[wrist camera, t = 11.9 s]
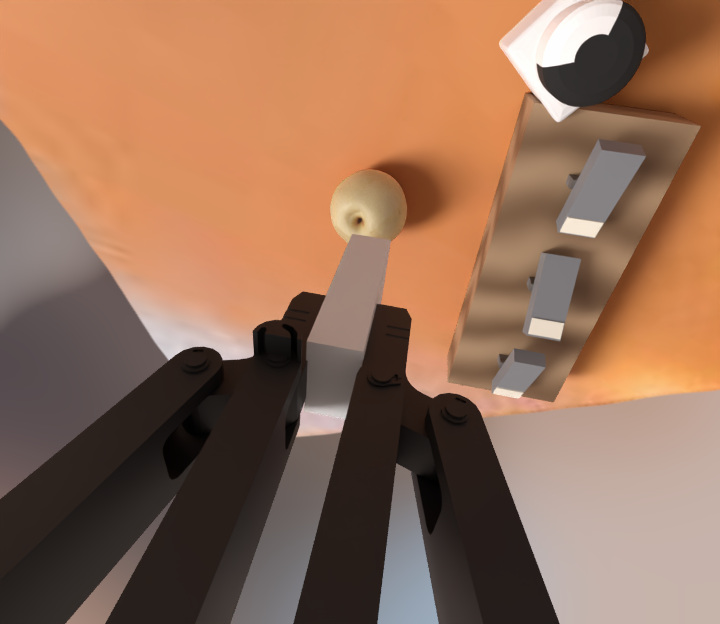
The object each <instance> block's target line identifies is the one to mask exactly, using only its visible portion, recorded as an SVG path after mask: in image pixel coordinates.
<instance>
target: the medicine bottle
mask: <svg viewBox="0 0 720 624" xmlns="http://www.w3.org/2000/svg"><path fill="white" fill-rule="evenodd" d="M499 46H500V47H501V49H502V50H503V52H504V53H505V55H506V56H507V57H508V59H509V60H510V62H511V63H512V65H513V66H514V67H515V69H516V70H517V72H518V73H519V74H520V76H521V77H522V79H523V80H524V82H525V83H526V84H527V86H528V87H529V89H530V90H531V91H532V93H533V94H534V95H535V96H536V97H537V98H538V100H539V101H540V102H541V103H542V104H543V105H544V107H545V108H546V109H547V111H548V112H549V114H550V115H551V116H552V118H553V119H554V120H555V121H556V122H561V121H563V120H564V119H565V118H566V117H568V116H569V115H570V114H572V113H573V112H574V111H575V110H577V109H578V108H579V107H588V106H593V105H596V104H599V103H602V102H604V101H606V100H608V99H609V98H611V97H612V96H614V95H615V94H617V93H618V92H619V91H620V90H621V89H622V88H623V87H624V86H626V85H627V83H628V82H629V81H630V80H631V78H632V77H633V76H634V74H635V72H636V71H637V69H638V67H639V65H640V63H641V60H642V58H643V57H645V56H646V55H647V54H648V52H649V49H648V46H647V44H646V33H645V27H644V24H643V21H642V19H641V17H640V15H639V14H638V12H637V11H636V10H635V9H634V8H633V7H632V6H630V5H629V4H627V3H625V2H623V1H621V0H542V1H541V2H540V3H539V4H538V5H537V6H535V7H534V8H533V9H532V10H531V11H530V12H529V13H528V14H527V15H526V16H525V17H524V18H523V19H522V20H521V21H520V22H519V23H518V24H517V25H516V26H515V27H513V28H512V29H511V30H510V31H509V32H508V33H507V34H506V35H505V36H504V37H503V38H502V39H501V40H500V42H499Z"/></svg>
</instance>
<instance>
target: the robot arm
mask: <svg viewBox="0 0 720 624" xmlns="http://www.w3.org/2000/svg"><path fill="white" fill-rule="evenodd" d="M390 243H391V240H387V239H381V238H375V237H369V236H363V235H357V234H352V235H351V238H350V240H349V242H348V245H347V247H346V249H345V252H344V254H343V257H342V259H341V261H340V264H339V266H338V268H337V271H336V273H335V276H334V278H333V280H332V283H331V285H330V287H329V290H328V292H327V294H326V296H325V295H320V294H314V293H308V292H302V293H300V294H299V295H297V296H296V297H294V298H293V299H292V301H291V303H290V305H289V306H288V309H287V310H286V312H285V314H284V316H283V318H282V320H273V321H267V322H264V323H262V324H260V325H258V326H257V327H256V328H255V329H254V330H253V344H254V356H253V357H250V358H247V359H240V360H222V357H221V355H220V354H219V353H218V352H217V351H215V350H214V349H211V348H207V347H193V348H190V349H186V350H183V351H182V352H180V353H178V354H177V355H175V356H174V357H173V358H172V359H170V360H169V361H168V362H167V363H166V364H164V365H163V366H162V367H161V368H160V369H158V370H157V371H156V372H155V373H153V374H152V375H151V376H150V377H149V378H147V379H146V380H145V381H144V382H143V383H141V384H140V385H139V386H138V387H137V388H135V389H134V390H133V391H132V392H130V393H129V394H128V395H127V396H126V397H124V398H123V399H122V400H121V401H119V402H118V403H117V404H116V405H115V406H113V407H112V408H111V409H110V410H109V411H107V412H106V413H105V414H104V415H102V416H101V417H100V418H99V419H97V420H96V421H95V422H94V423H93V424H91V425H90V426H89V427H88V428H87V429H85V430H84V431H83V432H82V433H80V434H79V435H78V436H77V437H76V438H74V439H73V440H72V441H71V442H70V443H68V444H67V445H66V446H65V447H63V448H62V449H61V450H60V451H59V452H58V453H56V454H55V455H54V456H53V457H51V458H50V459H49V460H48V461H46V462H45V463H44V464H43V465H42V466H40V467H39V468H38V469H37V470H36V471H34V472H33V473H32V474H31V475H29V476H28V477H27V478H26V479H24V480H23V481H22V482H21V483H20V484H18V485H17V486H16V487H15V488H14V489H12V490H11V491H10V492H9V493H7V494H6V495H5V496H4V497H3V498H1V499H0V624H65V623H66V622H67V621H68V620H69V619H70V617H71V616H72V615H73V614H74V613H75V612H76V610H77V609H78V608H79V607H80V606H81V604H83V602H84V601H85V600H86V599H87V598H88V597H89V595H90V594H91V593H92V592H93V591H94V590H95V588H96V587H97V586H98V585H99V584H100V582H101V581H102V580H103V579H104V578H105V577H106V576H107V574H108V573H109V572H110V571H111V570H112V568H113V567H114V566H115V565H116V564H117V563H118V561H119V560H120V559H121V558H122V557H123V555H125V553H126V552H127V551H128V550H129V549H130V548H131V546H132V545H133V544H134V543H135V542H136V541H137V539H138V538H139V537H140V536H141V535H142V534H143V532H144V531H145V530H146V529H147V528H148V526H149V525H150V524H151V523H152V522H153V521H154V519H155V518H156V517H157V516H158V515H159V514H160V513H161V511H162V510H163V509H164V508H165V507H166V505H167V504H168V503H169V502H170V501H171V500H172V499H173V497H174V496H175V495H176V494H177V495H176V497H175V498H174V500H173V502H172V504H171V506H170V508H169V509H168V511H167V513H166V515H165V517H164V518H163V520H162V522H161V524H160V526H159V528H158V529H157V531H156V533H155V535H154V537H153V538H152V540H151V542H150V544H149V546H148V547H147V549H146V551H145V553H144V555H143V556H142V559H141V560H140V562H139V564H138V565H137V567H136V569H135V571H134V573H133V575H132V577H131V578H130V580H129V582H128V584H127V586H126V587H125V589H124V591H123V593H122V594H121V596H120V598H119V600H118V602H117V604H116V605H115V607H114V609H113V611H112V612H111V615H110V616H109V618H108V620H107V621H106V623H105V624H230V623H231V620H232V617H233V614H234V612H235V609H236V606H237V603H238V600H239V597H240V594H241V592H242V588H243V586H244V583H245V580H246V577H247V574H248V572H249V569H250V566H251V563H252V560H253V557H254V554H255V552H256V549H257V546H258V543H259V540H260V537H261V534H262V532H263V528H264V526H265V523H266V520H267V517H268V514H269V512H270V509H271V506H272V503H273V500H274V497H275V495H276V491H277V489H278V486H279V483H280V480H281V477H282V475H283V472H284V469H285V466H286V463H287V460H288V457H289V455H290V452H291V449H292V446H293V443H294V440H295V438H296V435H297V432H298V429H299V425H300V413H301V410H302V407H303V404H304V402H305V405H304V411H305V412H310V413H315V414H320V415H325V416H330V417H335V418H340V419H345V422H344V426H343V430H342V434H341V438H340V442H339V446H338V450H337V454H336V458H335V462H334V466H333V470H332V473H331V478H330V481H329V486H328V489H327V493H326V497H325V502H324V505H323V509H322V513H321V517H320V521H319V525H318V529H317V533H316V537H315V541H314V545H313V548H312V552H311V556H310V560H309V564H308V569H307V572H306V576H305V580H304V584H303V588H302V592H301V596H300V600H299V604H298V608H297V612H296V616H295V620H294V623H293V624H377V620H378V612H379V603H380V594H381V587H382V578H383V570H384V561H385V553H386V544H387V536H388V527H389V519H390V510H391V501H392V493H393V484H394V476H395V468H396V463H397V464H399V465H401V466H403V467H405V468H407V469H408V470H410V471H411V475H412V480H413V486H414V491H415V497H416V502H417V507H418V513H419V518H420V524H421V529H422V534H423V540H424V545H425V550H426V556H427V562H428V567H429V572H430V578H431V583H432V588H433V594H434V600H435V605H436V610H437V616H438V621H439V624H559V621H558V618H557V616H556V613H555V610H554V608H553V605H552V602H551V600H550V597H549V594H548V592H547V589H546V586H545V584H544V581H543V578H542V576H541V573H540V570H539V568H538V565H537V562H536V560H535V557H534V554H533V552H532V549H531V546H530V544H529V541H528V538H527V536H526V533H525V530H524V528H523V525H522V522H521V520H520V517H519V514H518V512H517V509H516V506H515V504H514V501H513V498H512V496H511V493H510V490H509V488H508V485H507V483H506V480H505V477H504V474H503V472H502V469H501V466H500V464H499V461H498V458H497V456H496V453H495V450H494V448H493V445H492V442H491V440H490V437H489V434H488V432H487V429H486V426H485V424H484V421H483V418H482V416H481V413H480V411H479V410H478V408H477V406H476V405H475V404H474V403H472V402H471V401H470V400H469V399H467V398H465V397H463V396H461V395H458V394H452V393H445V394H440V395H438V396H436V397H434V398H431V397H429V396H426V395H424V394H423V393H421V392H419V391H417V390H416V389H415V388H414V387H413V386H412V385H411V384H410V383H409V381H408V379H407V377H406V362H407V353H408V345H409V336H410V328H411V317H410V315H409V313H408V311H407V309H404V308H398V307H393V306H387V305H381V300H382V293H383V287H384V281H385V274H386V268H387V262H388V255H389V249H390Z"/></svg>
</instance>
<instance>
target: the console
mask: <svg viewBox="0 0 720 624" xmlns="http://www.w3.org/2000/svg"><path fill="white" fill-rule="evenodd" d="M700 127H701V126H700V125H698V124H696V123H694V122H691V121H689V120H687V119H685V118H683V117H681V116H679V115H677V114H675V113H668V112H661V111H653V110H646V109H639V108H632V107H624V106H617V105H610V104H603V103H599V104H596V105H593V106H588V107H579V108H578V109H577V110H575V111H574V112H573V113H572V114H570V115H569V116H568V117H566V118H565V119H564V120H563V121H561V122H556V121H555V120H554V119H553V118H552V116H551V115H550V114H549V112H548V111H547V109H546V108H545V107H544V105H543V104H542V103H541V102H540V101H539V100H538V98H537V97H536V96H535V95H534V94H530V93H525V95H524V99H523V102H522V106H521V109H520V112H519V116H518V119H517V123H516V126H515V129H514V133H513V136H512V140H511V143H510V146H509V150H508V153H507V156H506V160H505V163H504V167H503V170H502V173H501V177H500V180H499V184H498V187H497V190H496V194H495V197H494V201H493V204H492V207H491V211H490V214H489V217H488V221H487V224H486V228H485V231H484V234H483V238H482V241H481V245H480V248H479V251H478V255H477V258H476V262H475V265H474V268H473V272H472V275H471V278H470V282H469V285H468V289H467V292H466V295H465V299H464V302H463V306H462V309H461V312H460V316H459V319H458V322H457V326H456V329H455V333H454V336H453V339H452V343H451V346H450V350H449V353H448V382H449V383H454V384H460V385H465V386H470V387H475V388H481V389H486V390H491V391H492V380H493V379H494V377H495V376H496V374H497V373H498V371H499V370H500V368H501V367H502V365H503V364H504V362H505V361H506V359H507V358H508V356H509V355H510V353H511V352H512V351H513V349H514V348H516V349H521V350H527V351H532V352H538V353H543V354H545V362H546V368H545V369H544V370H543V371H542V372H541V374H540V375H539V376H538V377H537V378H536V379H535V380H534V382H533V383H532V384H531V385H530V386H529V387H528V388H527V390H526V391H525V392H524V393H523V394H522V395H521V396H523V397H528V398H533V399H539V400H544V401H549V402H554V401H555V399H556V397H557V395H558V393H559V391H560V389H561V387H562V386H563V384H564V382H565V380H566V378H567V376H568V374H569V372H570V371H571V369H572V367H573V365H574V363H575V361H576V359H577V357H578V356H579V354H580V352H581V350H582V348H583V346H584V344H585V343H586V341H587V339H588V337H589V335H590V333H591V331H592V329H593V328H594V326H595V324H596V322H597V320H598V318H599V316H600V314H601V313H602V311H603V309H604V307H605V305H606V303H607V301H608V299H609V298H610V296H611V294H612V292H613V290H614V288H615V286H616V285H617V283H618V281H619V279H620V277H621V275H622V273H623V271H624V270H625V268H626V266H627V264H628V262H629V260H630V258H631V256H632V255H633V253H634V251H635V249H636V247H637V245H638V243H639V242H640V240H641V238H642V236H643V234H644V232H645V230H646V228H647V227H648V225H649V223H650V221H651V219H652V217H653V215H654V213H655V212H656V210H657V208H658V206H659V204H660V202H661V200H662V198H663V197H664V195H665V193H666V191H667V189H668V187H669V185H670V184H671V182H672V180H673V178H674V176H675V174H676V172H677V170H678V169H679V167H680V165H681V163H682V161H683V159H684V157H685V155H686V154H687V152H688V150H689V148H690V146H691V144H692V142H693V140H694V139H695V137H696V135H697V133H698V131H699V129H700ZM598 139H603V140H610V141H617V142H624V143H630V144H637V145H642V148H643V150H644V152H645V155H646V157H645V159H644V161H643V162H642V164H641V165H640V167H639V169H638V170H637V172H636V173H635V175H634V177H633V178H632V180H631V181H630V183H629V184H628V186H627V188H626V189H625V191H624V192H623V194H622V196H621V197H620V199H619V200H618V202H617V204H616V205H615V207H614V208H613V210H612V212H611V213H610V215H609V216H608V218H607V219H606V221H605V223H604V224H603V226H602V227H601V229H600V231H599V232H598V234H597V235H596V237H595V238H589V237H583V236H577V235H570V234H564V233H558V231H557V224H556V220H557V218H558V216H559V214H560V212H561V211H562V209H563V207H564V205H565V203H566V201H567V199H568V197H569V195H570V193H571V191H572V189H573V187H574V185H575V183H576V181H577V179H578V178H579V176H580V174H581V172H582V170H583V168H584V166H585V164H586V162H587V160H588V158H589V156H590V154H591V152H592V150H593V148H594V147H595V145H596V143H597V141H598ZM541 253H548V254H554V255H560V256H566V257H572V258H578V259H581V262H580V266H579V270H578V274H577V278H576V282H575V286H574V289H573V293H572V297H571V301H570V305H569V309H568V313H567V317H566V321H565V325H564V329H563V332H562V336H561V340H560V341H555V340H550V339H544V338H538V337H533V336H527V335H526V334H524V333H523V332H522V331H523V327H524V323H525V319H526V314H527V310H528V306H529V302H530V298H531V293H532V289H533V285H534V281H535V277H536V272H537V268H538V264H539V260H540V256H541Z"/></svg>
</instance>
